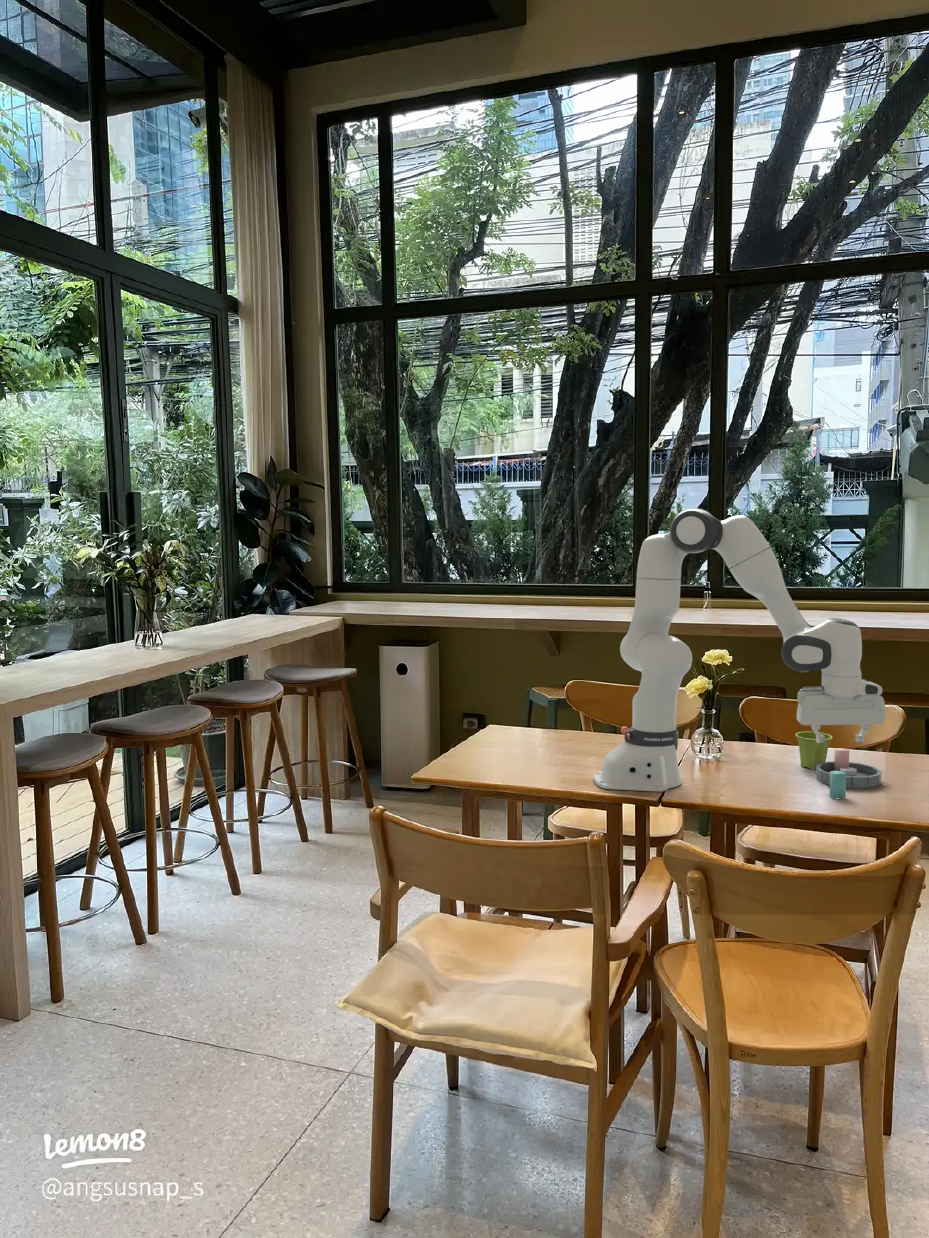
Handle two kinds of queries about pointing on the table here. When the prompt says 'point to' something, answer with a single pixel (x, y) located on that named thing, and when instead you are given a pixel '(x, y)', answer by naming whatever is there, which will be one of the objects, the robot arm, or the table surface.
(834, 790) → the teal block
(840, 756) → the pink cylinder
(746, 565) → the robot arm
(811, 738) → the plant pot
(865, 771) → the groove tray
